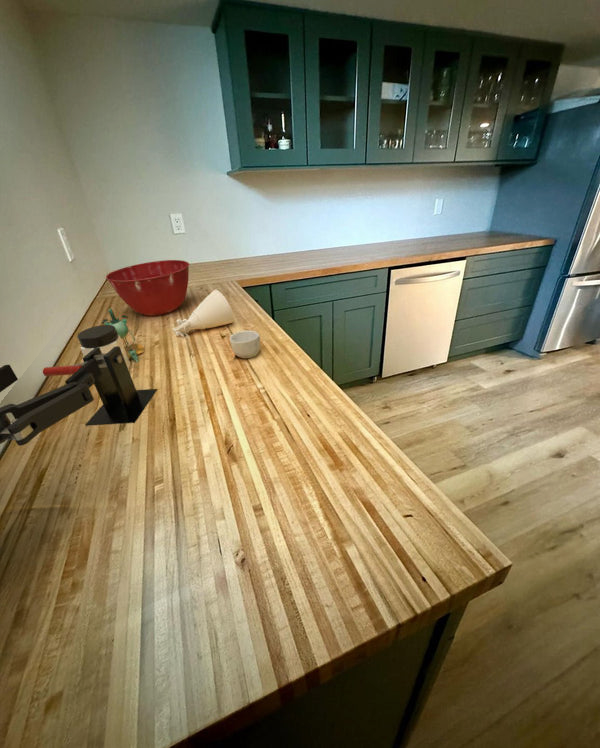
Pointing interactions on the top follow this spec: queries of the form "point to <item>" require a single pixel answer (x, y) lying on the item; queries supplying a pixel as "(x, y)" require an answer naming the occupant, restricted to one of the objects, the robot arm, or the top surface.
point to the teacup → (245, 343)
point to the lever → (72, 367)
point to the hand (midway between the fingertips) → (54, 369)
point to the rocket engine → (207, 314)
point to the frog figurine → (123, 331)
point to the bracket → (117, 391)
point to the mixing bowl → (152, 286)
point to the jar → (101, 340)
